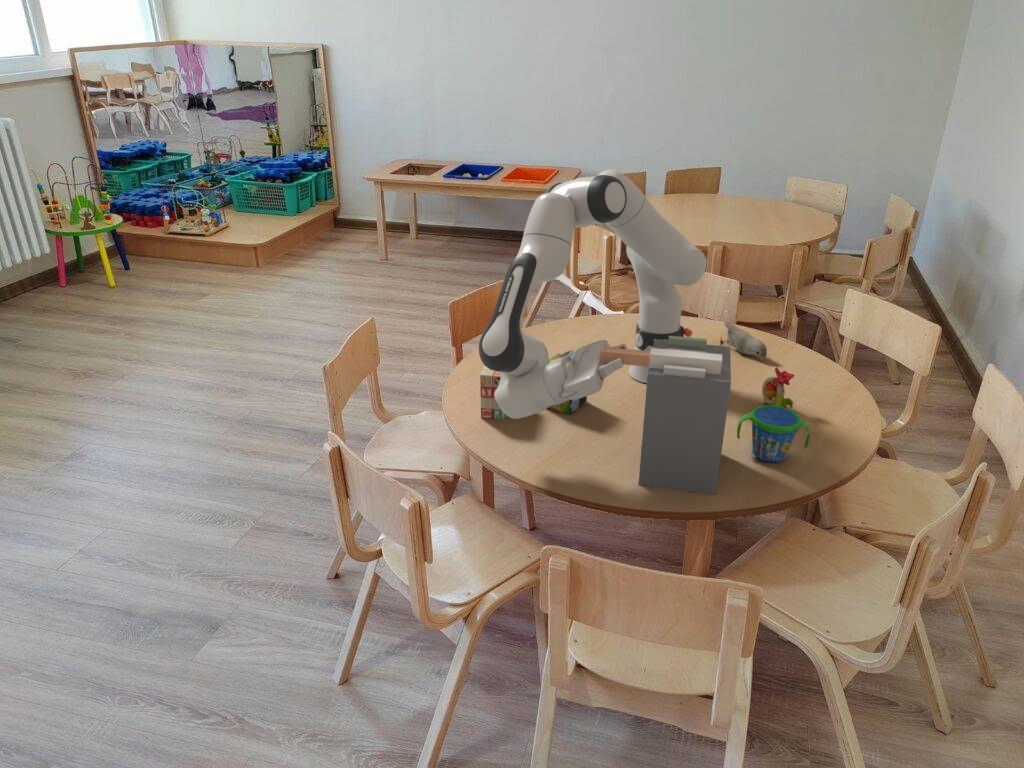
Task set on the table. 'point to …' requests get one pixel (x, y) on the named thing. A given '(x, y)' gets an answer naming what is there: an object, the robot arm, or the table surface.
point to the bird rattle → (777, 389)
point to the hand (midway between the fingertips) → (624, 354)
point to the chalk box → (570, 404)
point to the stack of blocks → (490, 394)
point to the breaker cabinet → (685, 421)
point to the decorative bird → (744, 342)
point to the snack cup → (773, 431)
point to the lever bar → (664, 358)
